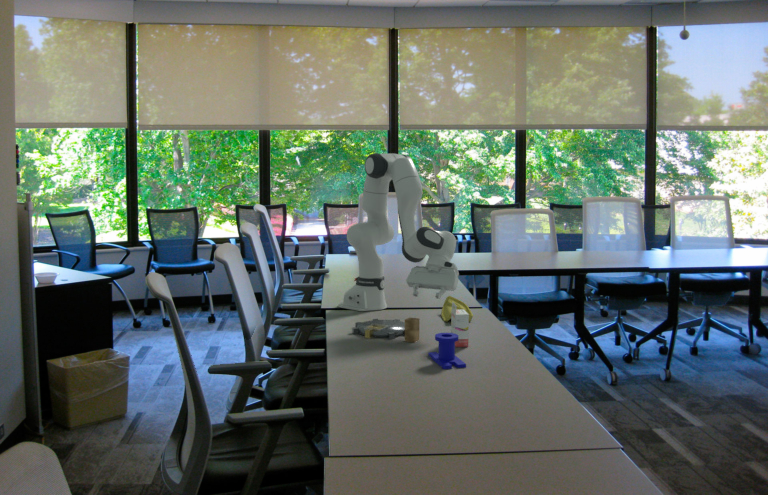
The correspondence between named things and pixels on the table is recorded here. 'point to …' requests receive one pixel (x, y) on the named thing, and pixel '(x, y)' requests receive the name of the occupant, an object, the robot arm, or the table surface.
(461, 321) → the ink cartridge box
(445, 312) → the plastic component
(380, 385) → the table surface
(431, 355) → the mount
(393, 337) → the sprocket plate
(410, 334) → the brown rectangular block
